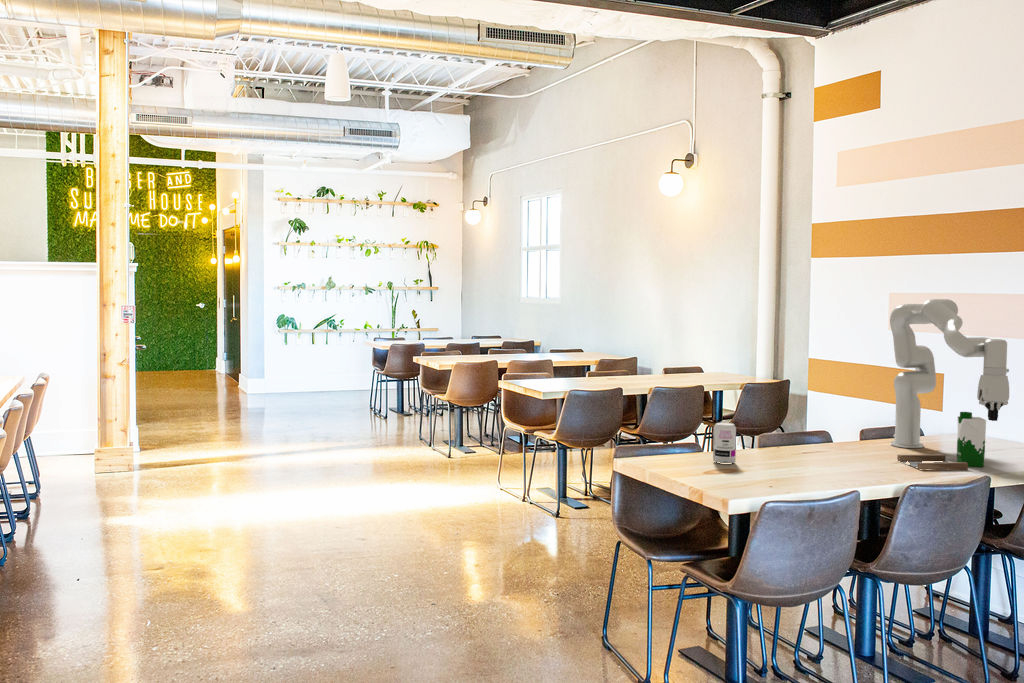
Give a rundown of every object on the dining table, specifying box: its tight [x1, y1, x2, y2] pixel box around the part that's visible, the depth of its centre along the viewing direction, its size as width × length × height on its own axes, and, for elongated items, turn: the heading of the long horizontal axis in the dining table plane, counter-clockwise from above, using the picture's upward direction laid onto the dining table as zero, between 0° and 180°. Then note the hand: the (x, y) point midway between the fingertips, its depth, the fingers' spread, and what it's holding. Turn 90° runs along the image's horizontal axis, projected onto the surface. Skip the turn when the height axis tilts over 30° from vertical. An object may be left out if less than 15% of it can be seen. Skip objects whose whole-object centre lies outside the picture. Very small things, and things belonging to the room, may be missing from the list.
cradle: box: [896, 453, 969, 471], centre depth 321 cm, size 17×18×2 cm
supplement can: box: [712, 422, 737, 463], centre depth 325 cm, size 8×8×15 cm
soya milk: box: [956, 411, 987, 468], centre depth 322 cm, size 9×9×20 cm
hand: (992, 420), depth 322 cm, fingers closed
